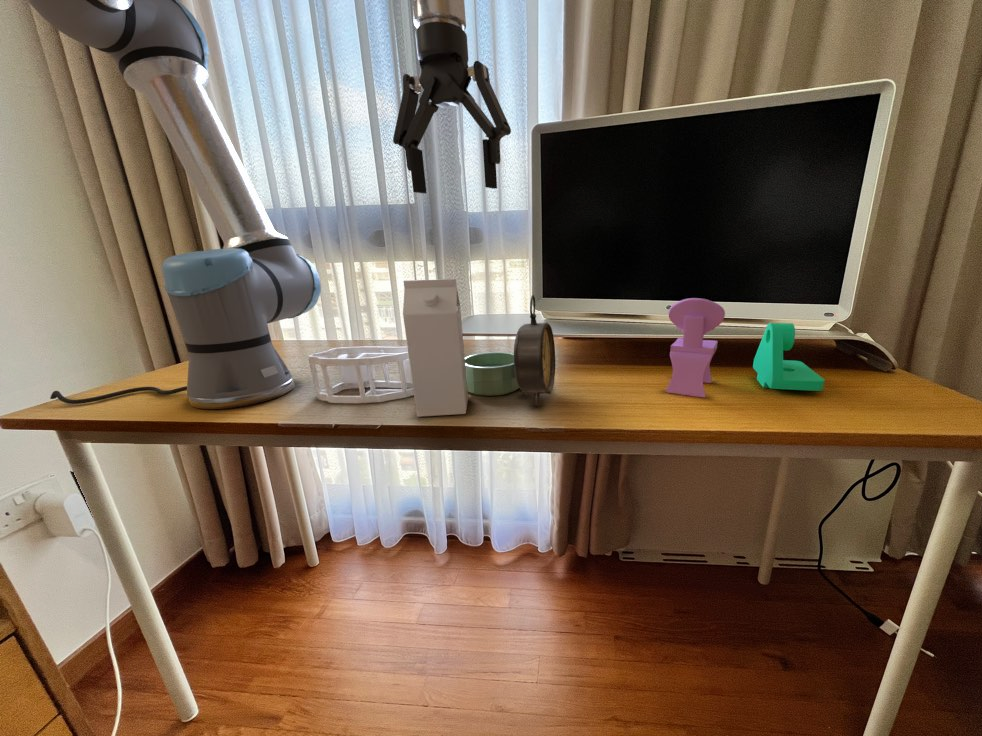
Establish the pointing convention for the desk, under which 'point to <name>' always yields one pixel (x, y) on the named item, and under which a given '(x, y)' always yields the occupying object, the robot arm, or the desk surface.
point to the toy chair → (693, 345)
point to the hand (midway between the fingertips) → (454, 190)
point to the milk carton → (435, 346)
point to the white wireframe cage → (363, 373)
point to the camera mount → (782, 362)
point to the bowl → (491, 373)
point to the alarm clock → (534, 357)
